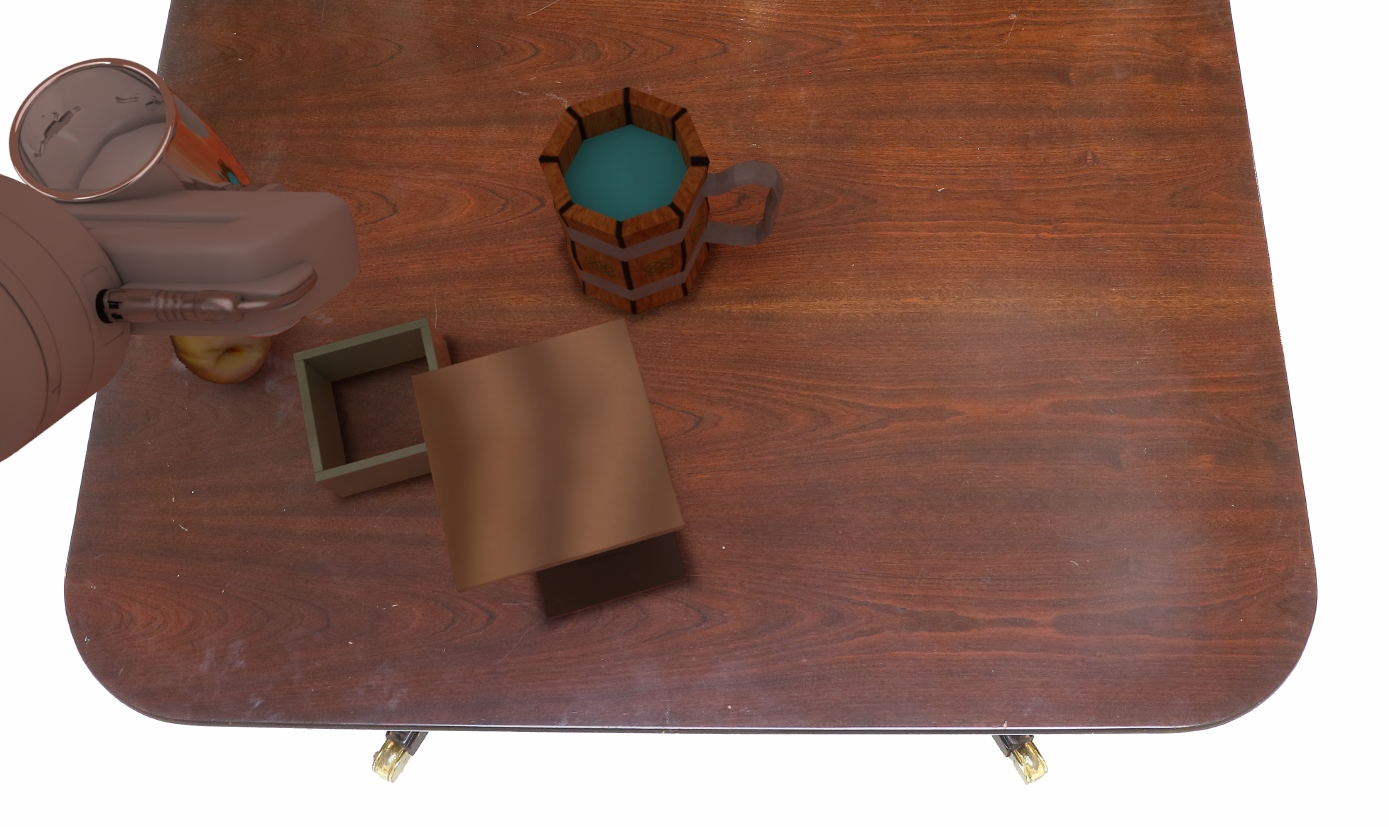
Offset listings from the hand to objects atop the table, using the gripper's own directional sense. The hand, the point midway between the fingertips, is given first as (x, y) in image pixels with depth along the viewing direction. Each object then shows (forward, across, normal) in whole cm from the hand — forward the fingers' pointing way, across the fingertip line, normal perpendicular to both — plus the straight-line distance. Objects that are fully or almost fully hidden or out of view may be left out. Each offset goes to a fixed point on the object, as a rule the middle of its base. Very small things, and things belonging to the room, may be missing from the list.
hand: (184, 199), depth 43 cm
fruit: (+34, +18, +24) cm, 46 cm away
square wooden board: (+4, -15, +16) cm, 22 cm away
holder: (+30, +4, +28) cm, 41 cm away
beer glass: (+6, 0, +6) cm, 9 cm away
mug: (+42, -20, +16) cm, 50 cm away
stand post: (+24, -15, +35) cm, 45 cm away
